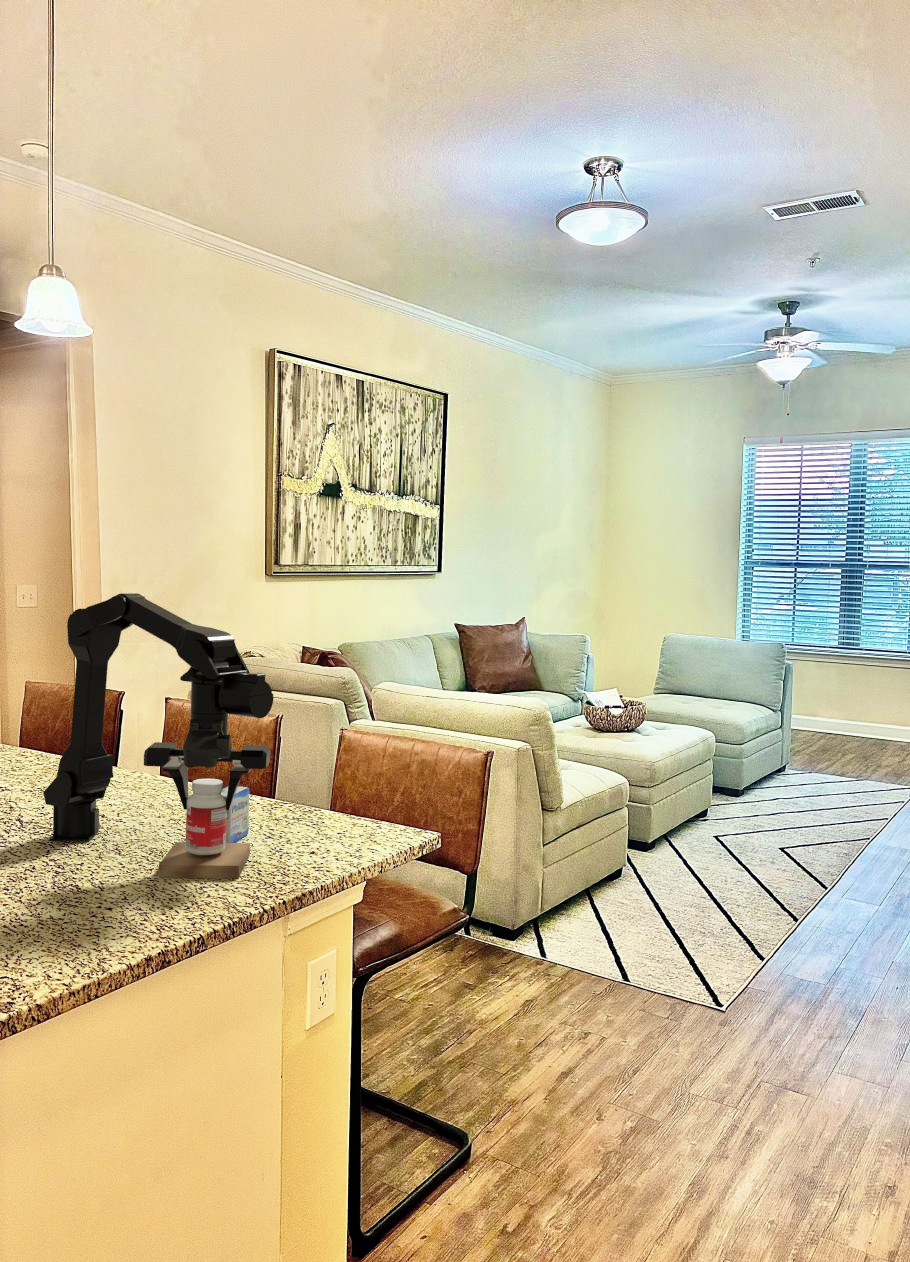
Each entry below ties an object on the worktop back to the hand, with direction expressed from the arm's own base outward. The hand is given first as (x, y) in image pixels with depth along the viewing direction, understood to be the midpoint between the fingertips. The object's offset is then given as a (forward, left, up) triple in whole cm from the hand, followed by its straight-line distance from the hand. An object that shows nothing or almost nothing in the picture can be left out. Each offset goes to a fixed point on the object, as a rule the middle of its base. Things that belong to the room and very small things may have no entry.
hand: (206, 809), depth 150 cm
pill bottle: (0, 0, -7) cm, 7 cm away
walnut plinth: (0, 0, -9) cm, 9 cm away
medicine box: (+1, +15, -9) cm, 18 cm away
